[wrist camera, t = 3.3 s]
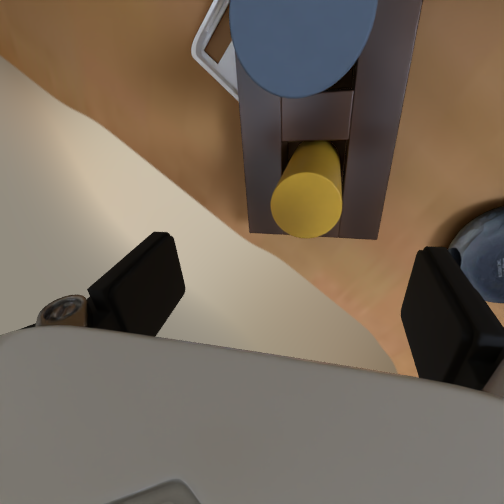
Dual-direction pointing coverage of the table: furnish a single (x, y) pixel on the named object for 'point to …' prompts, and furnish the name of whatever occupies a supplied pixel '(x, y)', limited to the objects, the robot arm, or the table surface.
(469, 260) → the electronic device
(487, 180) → the table surface
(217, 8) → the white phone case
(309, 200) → the mustard peg
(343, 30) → the blue peg
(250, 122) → the stand
